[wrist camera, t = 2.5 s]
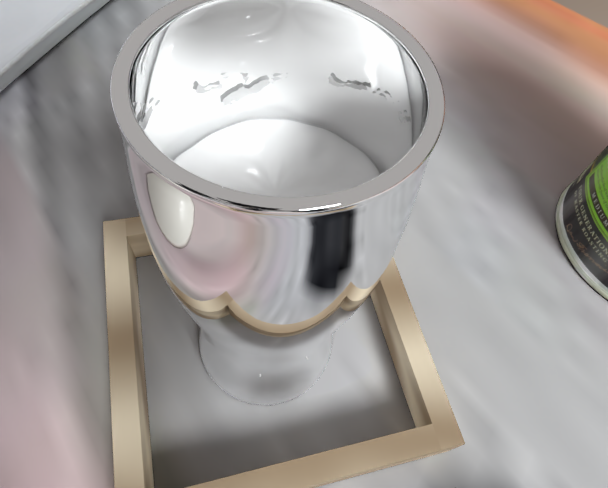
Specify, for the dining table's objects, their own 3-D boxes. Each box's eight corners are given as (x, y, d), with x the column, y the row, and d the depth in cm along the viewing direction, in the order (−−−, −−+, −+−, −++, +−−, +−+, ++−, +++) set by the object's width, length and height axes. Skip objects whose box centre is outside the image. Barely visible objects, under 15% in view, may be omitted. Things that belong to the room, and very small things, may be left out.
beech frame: (447, 451, 20) (465, 443, 19) (130, 538, 18) (116, 538, 16) (357, 205, 27) (364, 183, 25) (113, 243, 24) (103, 221, 22)
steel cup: (160, 328, 22) (28, 44, 9) (277, 248, 25) (300, -56, 12) (253, 453, 20) (251, 303, 7) (371, 348, 22) (526, 103, 10)
